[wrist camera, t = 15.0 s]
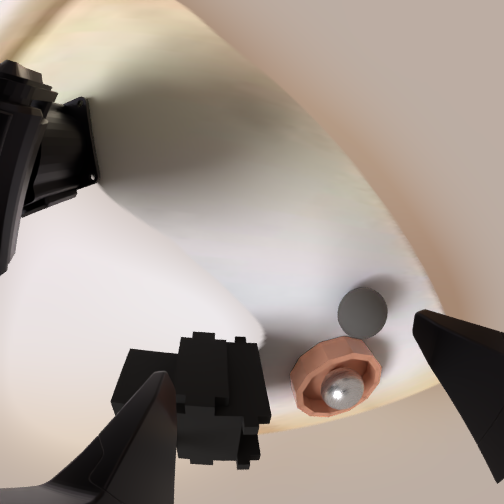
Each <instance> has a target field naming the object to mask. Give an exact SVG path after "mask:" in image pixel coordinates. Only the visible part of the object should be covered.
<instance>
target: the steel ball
mask: <svg viewBox="0 0 504 504" xmlns="http://www.w3.org/2000/svg"><path fill="white" fill-rule="evenodd" d="M363 392H364V382H363V379H362V377H361V376H360V374H359V373H358V372H357V371H355V370H353V369H351V368H346V367H343V368H337V369H335V370H333V371H331V372H330V373H328V374H327V375H326V376H325V378H324V379H323V381H322V384H321V396H322V399H323V400H324V402H325V403H326V404H327V405H328V406H329V407H331V408H334V409H338V410H343V409H348V408H351V407H352V406H354V405H355V404H357V403H358V402H359V400H360V399H361V397H362V395H363Z"/></svg>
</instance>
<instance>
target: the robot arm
mask: <svg viewBox="0 0 504 504" xmlns="http://www.w3.org/2000/svg"><path fill="white" fill-rule="evenodd" d="M51 89H52V87H51V86H48V85H45V84H43V82H42V75H41V73H38V72H35V71H33V70H30V69H27V68H25V67H23V66H22V65H20V64H19V63H16V62H13V61H10V60H5V61H4V62H2V63H0V275H2V274H3V273H5V272H6V271H7V268H8V267H7V266H8V264H9V262H10V261H11V259H12V257H13V255H14V254H15V250H16V242H17V236H18V230H19V224H20V219H21V217H22V218H23V217H25V216H28V215H30V214H32V213H35V212H37V211H40V210H42V209H45V208H48V207H50V206H52V205H55V204H58V203H60V202H63V201H66V200H69V199H72V198H74V197H76V195H77V190H78V189H81V188H84V187H87V186H89V185H92V184H95V183H97V182H98V181H99V180H100V172H99V167H98V162H97V157H96V151H95V146H94V140H93V134H92V127H91V121H90V113H89V105H88V100H87V99H86V98H84V97H78V98H76V99H74V100H72V101H70V102H67V103H65V104H63V105H62V104H58V103H54V102H55V99H56V97H57V95H58V93H57V92H54V91H51ZM81 101H83V104H82V106H79V104H80V102H81ZM92 174H94V175H95V179H94V180H92V179H91V175H92ZM412 331H413V336H414V338H415V340H416V342H417V343H418V345H419V347H420V349H421V351H422V353H423V355H424V357H425V358H426V360H427V362H428V364H429V366H430V367H431V369H432V371H433V372H434V374H435V375H436V377H437V378H438V380H439V381H440V383H441V384H442V386H443V387H444V389H445V390H446V392H447V394H448V395H449V397H450V398H451V400H452V402H453V404H454V405H455V407H456V408H457V410H458V412H459V413H460V415H461V417H462V418H463V420H464V422H465V424H466V425H467V427H468V429H469V431H470V432H471V434H472V436H473V438H474V440H475V441H476V443H477V444H478V447H479V449H480V451H481V453H482V455H483V457H484V459H485V460H486V463H487V465H488V467H489V468H490V471H491V473H492V475H493V477H494V479H495V481H496V482H497V484H498V483H499V482H500V481H502V480H503V479H504V333H503V332H499V331H496V330H493V329H490V328H486V327H483V326H480V325H476V324H473V323H470V322H466V321H463V320H459V319H456V318H453V317H449V316H446V315H443V314H439V313H436V312H433V311H429V310H426V309H424V310H421V311H418V312H417V313H416V314H415V317H414V324H413V330H412ZM176 443H177V412H176V391H175V387H174V385H173V383H172V381H171V379H170V377H169V375H168V373H167V372H166V371H158V372H154V373H153V374H152V375H151V376H150V378H149V379H148V380H147V381H146V382H145V383H144V384H143V385H142V387H141V388H140V389H139V390H138V391H137V392H136V393H135V394H134V396H133V397H132V398H131V399H130V400H129V401H128V402H127V403H126V404H125V406H124V407H123V408H122V409H121V410H120V411H119V412H118V413H117V415H116V416H115V417H114V418H113V419H112V420H111V421H110V422H109V424H108V425H107V426H106V427H105V428H104V429H103V430H102V431H101V433H100V434H99V435H98V436H97V437H96V438H95V439H94V440H93V441H92V442H91V444H90V445H88V447H87V448H86V449H85V450H84V451H83V452H82V453H81V454H80V455H79V456H77V457H76V458H75V459H74V460H73V461H72V462H71V463H70V464H69V465H67V466H66V467H65V468H64V469H63V470H62V471H60V472H59V473H58V474H57V475H56V476H55V477H54V478H52V479H51V480H50V481H48V482H46V483H44V484H42V485H39V486H32V487H20V488H2V489H0V504H174V480H175V479H174V478H175V459H176Z"/></svg>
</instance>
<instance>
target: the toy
mask: <svg viewBox="0 0 504 504" xmlns="http://www.w3.org/2000/svg"><path fill="white" fill-rule="evenodd" d="M158 371H166V372H167V373H168V375H169V377H170V379H171V381H172V383H173V385H174V387H175V391H176V412H177V443H176V447H177V452H178V458H184V459H190V464H203V465H213V460H221V461H229V460H231V461H236V463H237V469H238V470H239V469H240V470H241V469H249V467H250V460H259V459H260V449H259V442H258V435H257V434H258V430H259V424H269V423H270V420H271V411H270V406H269V401H268V396H267V391H266V386H265V381H264V377H263V372H262V367H261V362H260V357H259V352H258V346H257V343H246V338H245V337H235V343H232V342H226V340H216V339H215V333H205V332H193V337H192V338H186V337H181V341H180V347H179V352H178V354H174V353H164V352H154V351H145V350H138V349H130V351H129V353H128V356H127V358H126V361H125V364H124V366H123V369H122V371H121V374H120V377H119V379H118V382H117V385H116V388H115V390H114V393H113V396H112V399H111V404H112V407H113V410H114V413H115V416H116V415H117V413H118V412H119V411H120V410H121V409H122V408H123V407H124V406H125V404H126V403H127V402H128V401H129V400H130V399H131V398H132V397H133V396H134V394H135V393H136V392H137V391H138V390H139V389H140V388H141V387H142V385H143V384H144V383H145V382H146V381H147V380H148V379H149V378H150V376H151V375H152V374H153V373H154V372H158Z"/></svg>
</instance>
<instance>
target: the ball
mask: <svg viewBox="0 0 504 504" xmlns="http://www.w3.org/2000/svg"><path fill="white" fill-rule="evenodd" d="M386 319H387V306H386V302H385V300H384V299H383V297H382V296H381V295H380V294H379V293H378V292H376V291H375V290H372V289H369V288H357V289H355V290H352V291H350V292H349V293H348V294H346V295H345V296H344V298H343V299H342V301H341V302H340V305H339V308H338V321H339V324H340V326H341V328H342V329H343V331H344V332H345V333H346V334H348V335H349V336H351V337H354V338H357V339H366V338H370V337H372V336H374V335H376V334H377V333H378V332H379V331H380V330H381V329H382V328H383V326H384V324H385V322H386Z"/></svg>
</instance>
